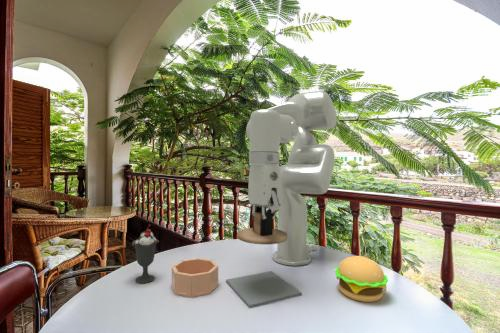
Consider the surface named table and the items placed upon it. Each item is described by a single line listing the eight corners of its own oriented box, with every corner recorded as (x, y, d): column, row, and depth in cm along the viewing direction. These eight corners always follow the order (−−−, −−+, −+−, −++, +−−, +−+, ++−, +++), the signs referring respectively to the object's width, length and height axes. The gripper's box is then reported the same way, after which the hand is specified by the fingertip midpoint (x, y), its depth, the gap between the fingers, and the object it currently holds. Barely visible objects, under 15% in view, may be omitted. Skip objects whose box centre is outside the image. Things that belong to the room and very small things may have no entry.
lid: (270, 229, 74) (271, 208, 74) (297, 241, 62) (297, 216, 63) (230, 233, 68) (230, 210, 68) (251, 246, 57) (251, 219, 57)
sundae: (149, 286, 65) (150, 226, 65) (125, 283, 67) (126, 225, 67) (163, 275, 72) (164, 221, 72) (141, 273, 73) (142, 219, 73)
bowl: (209, 274, 73) (209, 256, 73) (222, 291, 64) (223, 270, 64) (168, 281, 69) (169, 262, 69) (176, 300, 59) (177, 278, 59)
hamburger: (352, 308, 57) (352, 268, 57) (325, 283, 69) (326, 251, 69) (399, 303, 59) (400, 265, 59) (366, 280, 71) (367, 249, 71)
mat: (271, 273, 75) (271, 271, 75) (301, 295, 62) (301, 292, 62) (225, 281, 69) (225, 279, 69) (249, 308, 56) (249, 305, 56)
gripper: (296, 159, 60) (294, 240, 60) (261, 161, 74) (259, 225, 74) (267, 158, 56) (265, 243, 56) (237, 160, 71) (235, 227, 71)
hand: (262, 232), depth 65 cm, fingers closed on lid, 3 cm apart
